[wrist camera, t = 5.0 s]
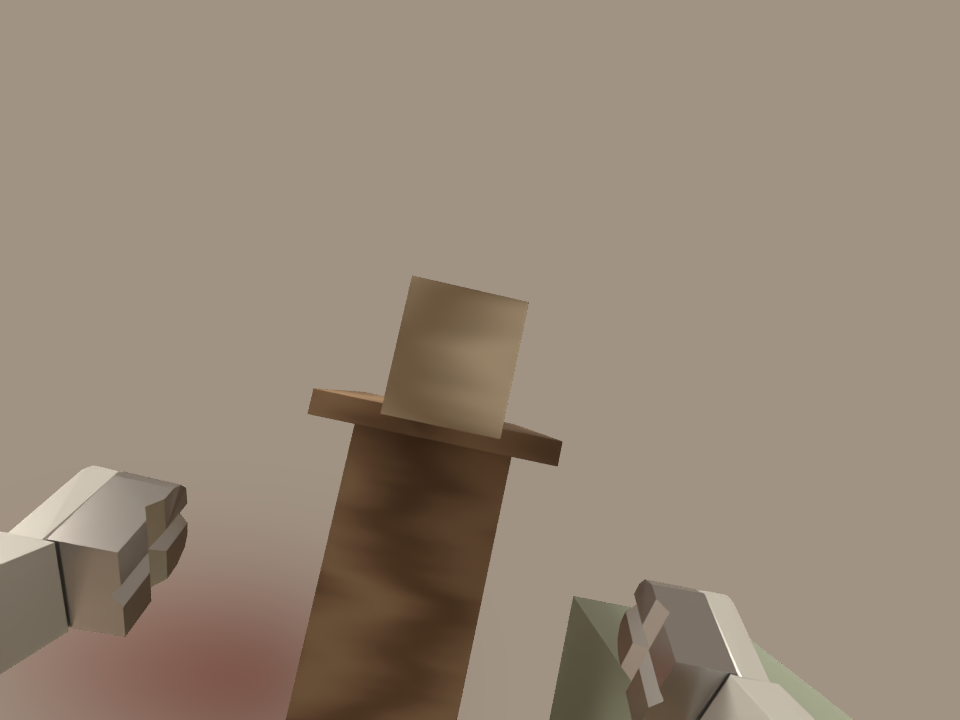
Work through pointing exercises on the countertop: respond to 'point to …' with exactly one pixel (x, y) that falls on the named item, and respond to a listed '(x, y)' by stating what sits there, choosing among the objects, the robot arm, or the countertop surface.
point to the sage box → (603, 683)
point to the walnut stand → (403, 563)
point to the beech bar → (455, 357)
